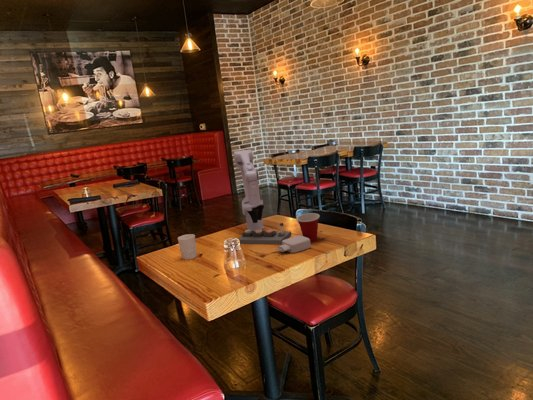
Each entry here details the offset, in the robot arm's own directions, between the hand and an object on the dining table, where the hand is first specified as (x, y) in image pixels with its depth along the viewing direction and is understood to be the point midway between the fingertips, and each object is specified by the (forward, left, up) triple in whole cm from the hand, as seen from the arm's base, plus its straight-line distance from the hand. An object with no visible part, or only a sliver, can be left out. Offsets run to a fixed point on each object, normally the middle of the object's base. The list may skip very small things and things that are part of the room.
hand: (257, 221), depth 199 cm
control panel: (0, +3, -9) cm, 10 cm away
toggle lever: (0, +12, -6) cm, 14 cm away
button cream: (0, 0, -6) cm, 6 cm away
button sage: (0, -6, -6) cm, 9 cm away
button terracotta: (0, +6, -6) cm, 9 cm away
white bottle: (+14, +22, -10) cm, 28 cm away
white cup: (+27, -24, -10) cm, 37 cm away
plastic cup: (+1, +27, -10) cm, 29 cm away
